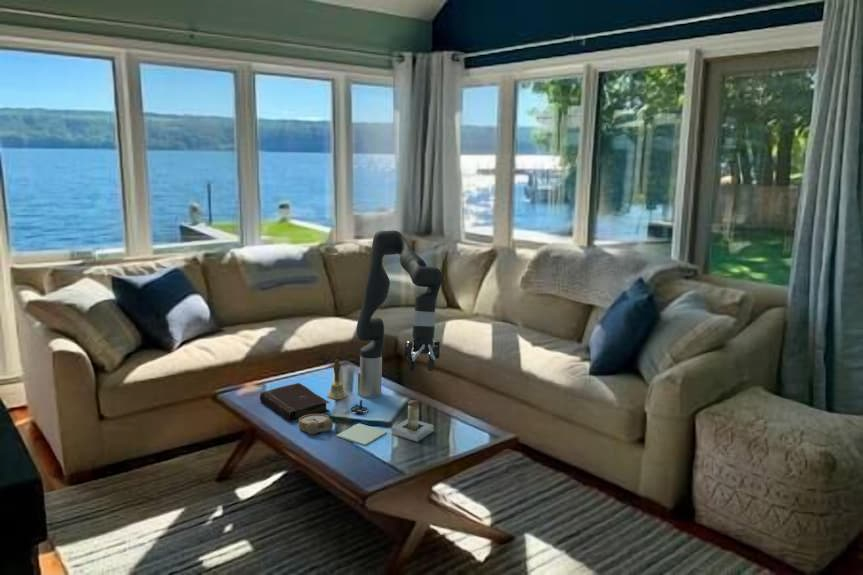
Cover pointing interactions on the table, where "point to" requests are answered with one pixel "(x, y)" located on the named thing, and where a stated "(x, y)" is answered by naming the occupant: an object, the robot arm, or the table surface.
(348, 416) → the table surface
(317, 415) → the alarm clock
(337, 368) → the hand bell
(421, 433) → the block
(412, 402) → the peg
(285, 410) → the diary
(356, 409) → the beaded bracelet pile
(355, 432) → the tile
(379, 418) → the table surface
